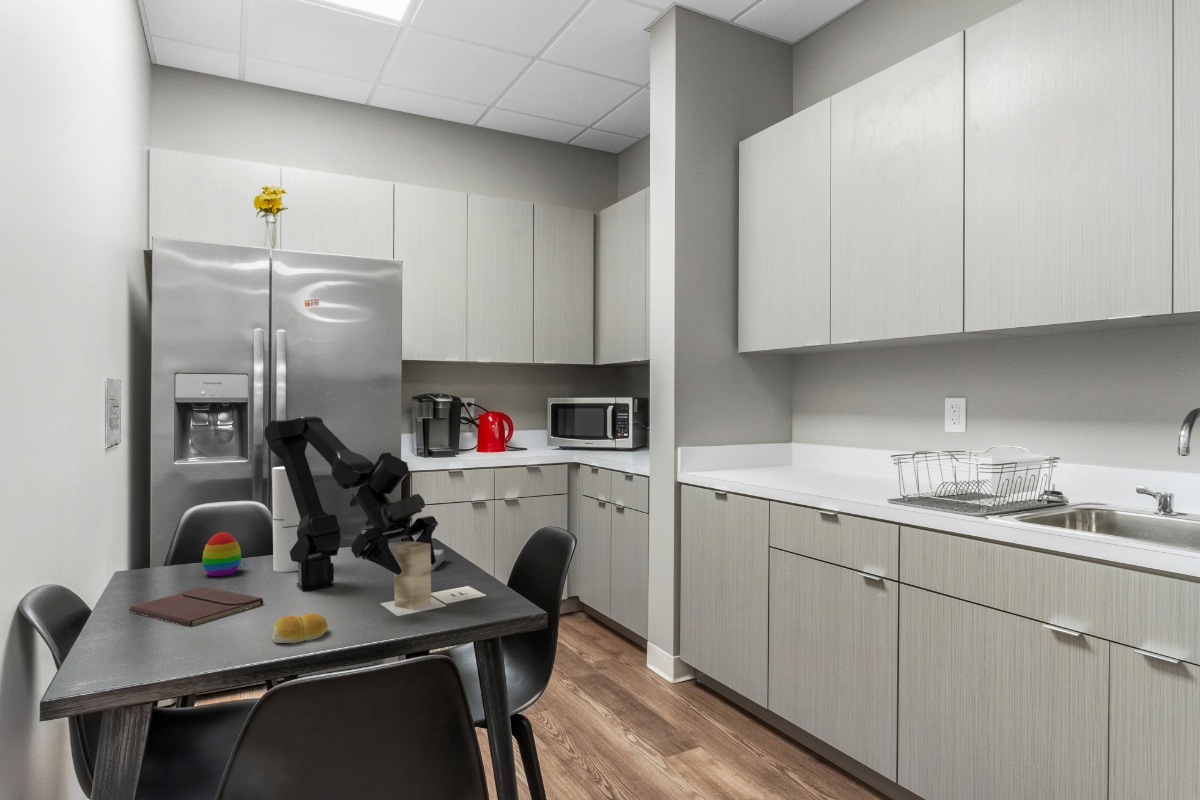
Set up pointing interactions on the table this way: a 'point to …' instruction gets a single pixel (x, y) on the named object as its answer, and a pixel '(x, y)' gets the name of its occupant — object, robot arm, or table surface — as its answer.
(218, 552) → the decorative egg
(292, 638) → the bread roll
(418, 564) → the maple block
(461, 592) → the tile
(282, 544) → the cylindrical container
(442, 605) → the grey mat
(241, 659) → the table surface
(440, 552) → the stone block
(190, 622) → the notebook
